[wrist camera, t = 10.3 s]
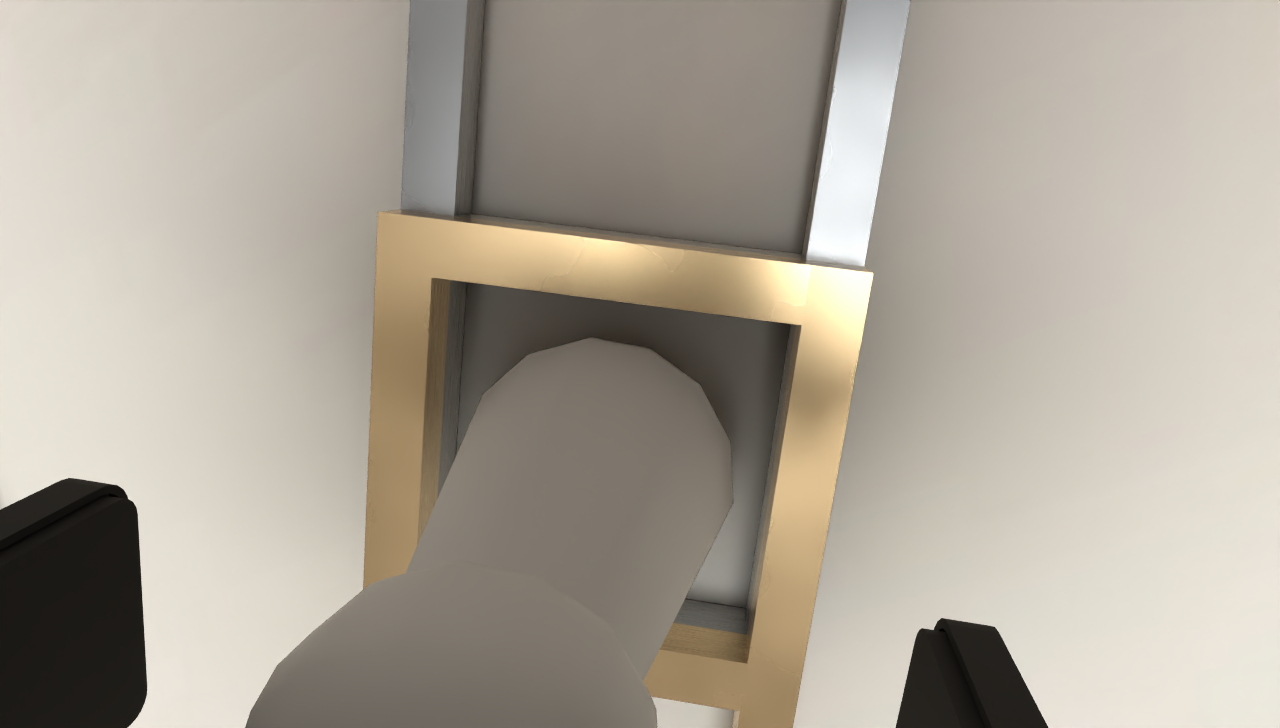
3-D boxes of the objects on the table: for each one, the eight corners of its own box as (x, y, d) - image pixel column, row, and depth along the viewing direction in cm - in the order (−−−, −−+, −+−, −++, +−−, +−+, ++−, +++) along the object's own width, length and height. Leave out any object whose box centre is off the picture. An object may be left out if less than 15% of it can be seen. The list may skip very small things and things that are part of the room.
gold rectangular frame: (421, 207, 19) (377, 211, 17) (856, 261, 18) (873, 273, 16) (387, 876, 24) (349, 952, 21) (738, 943, 23) (738, 1031, 20)
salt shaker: (735, 550, 20) (741, 1164, 8) (507, 551, 21) (168, 1117, 8) (728, 314, 19) (720, 585, 6) (485, 323, 20) (48, 584, 7)
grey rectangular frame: (443, -221, 17) (421, -250, 16) (932, -183, 16) (947, -211, 15) (401, 596, 22) (382, 620, 20) (787, 659, 21) (790, 688, 20)
